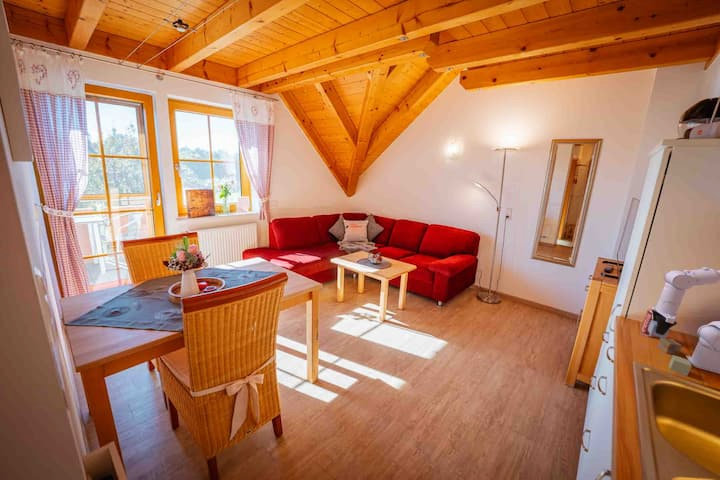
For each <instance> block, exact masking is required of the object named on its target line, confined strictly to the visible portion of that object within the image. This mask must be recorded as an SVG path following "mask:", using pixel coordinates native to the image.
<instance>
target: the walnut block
mask: <svg viewBox="0 0 720 480" xmlns="http://www.w3.org/2000/svg"><path fill="white" fill-rule="evenodd" d="M656 347H657V348H658V347H659V348H658V349H659V350H660V351H662V352H664V353H665V354H669V355H670V354H671V355H675V356H677V355H679V354H680V351H681V349H682V347H683V346H682V344H680V343H678V342H677V341H676V340H675V339H673V338H667V337H666V339H664V338H661V337H659V340H658V343H657V346H656Z"/></svg>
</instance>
